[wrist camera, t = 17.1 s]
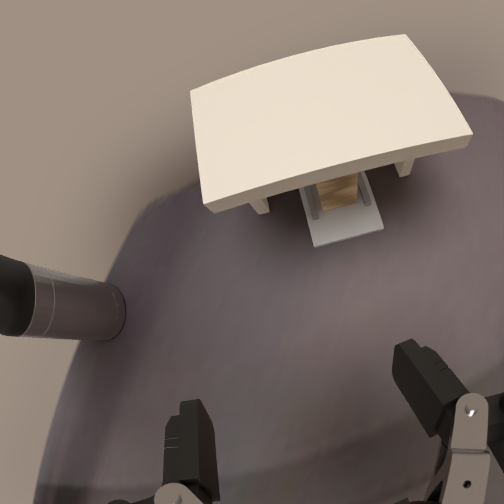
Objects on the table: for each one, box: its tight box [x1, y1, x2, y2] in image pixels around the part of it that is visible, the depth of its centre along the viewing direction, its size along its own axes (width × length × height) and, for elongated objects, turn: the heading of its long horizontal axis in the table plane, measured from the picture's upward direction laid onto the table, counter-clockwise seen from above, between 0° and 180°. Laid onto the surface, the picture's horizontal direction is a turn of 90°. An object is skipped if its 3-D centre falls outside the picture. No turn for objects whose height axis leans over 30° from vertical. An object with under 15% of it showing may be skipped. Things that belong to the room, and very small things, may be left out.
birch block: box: [316, 172, 358, 211], centre depth 34 cm, size 4×4×10 cm
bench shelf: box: [190, 34, 473, 248], centre depth 31 cm, size 21×14×19 cm, turn 101°
